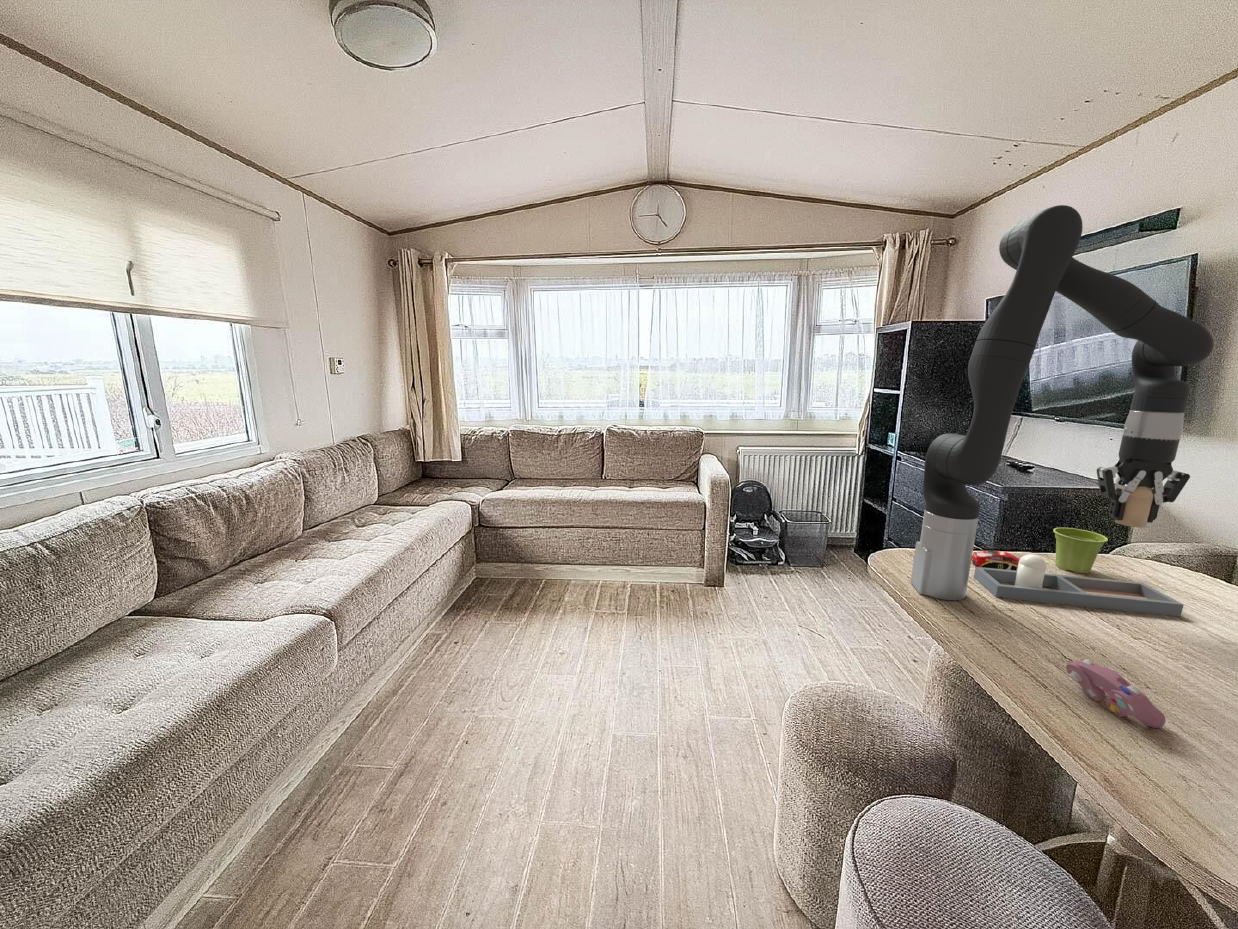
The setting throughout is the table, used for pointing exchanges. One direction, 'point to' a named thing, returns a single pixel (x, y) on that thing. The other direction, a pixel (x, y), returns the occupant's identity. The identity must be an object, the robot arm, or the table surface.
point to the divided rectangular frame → (1082, 592)
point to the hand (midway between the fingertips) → (1131, 520)
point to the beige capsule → (1137, 508)
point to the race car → (995, 560)
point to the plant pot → (1077, 549)
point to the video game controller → (1115, 692)
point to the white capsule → (1030, 571)
